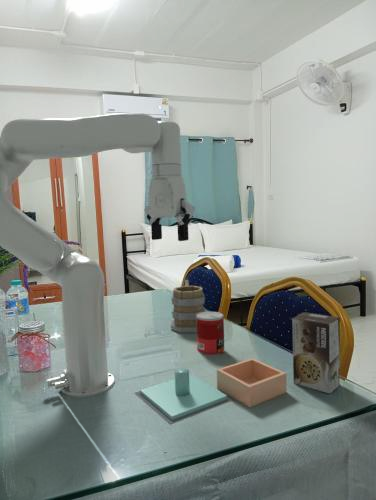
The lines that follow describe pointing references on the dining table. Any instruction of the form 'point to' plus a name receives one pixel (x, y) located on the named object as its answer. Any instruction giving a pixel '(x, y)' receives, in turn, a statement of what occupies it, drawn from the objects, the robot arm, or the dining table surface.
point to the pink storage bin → (251, 382)
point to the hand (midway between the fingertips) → (169, 239)
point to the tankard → (186, 307)
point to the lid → (182, 395)
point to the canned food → (210, 332)
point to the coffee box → (316, 351)
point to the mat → (182, 416)
